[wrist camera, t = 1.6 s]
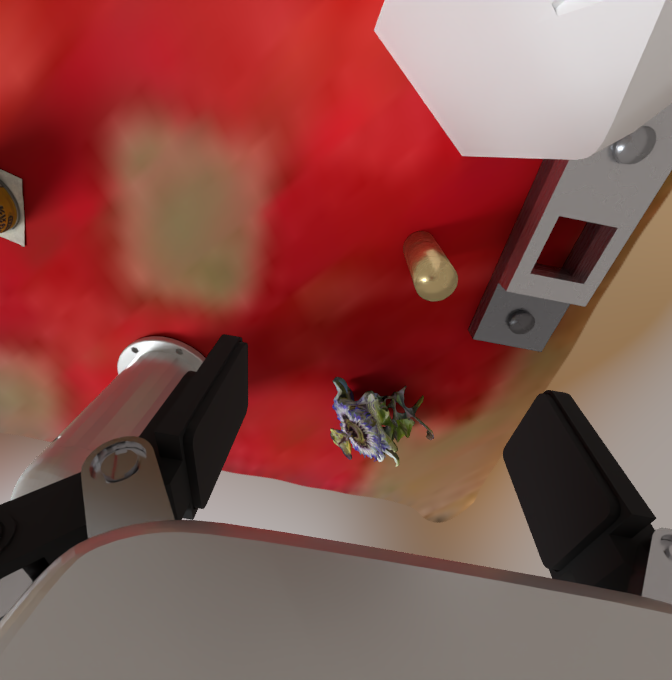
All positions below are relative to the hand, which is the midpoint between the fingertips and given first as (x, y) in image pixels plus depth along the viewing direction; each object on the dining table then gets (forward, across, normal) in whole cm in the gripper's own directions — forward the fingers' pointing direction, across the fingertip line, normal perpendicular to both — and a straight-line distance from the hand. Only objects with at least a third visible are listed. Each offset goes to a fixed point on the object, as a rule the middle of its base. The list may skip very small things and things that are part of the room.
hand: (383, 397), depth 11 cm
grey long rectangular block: (+26, -16, 0) cm, 31 cm away
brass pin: (+26, -5, +3) cm, 26 cm away
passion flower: (+25, -4, +22) cm, 34 cm away
